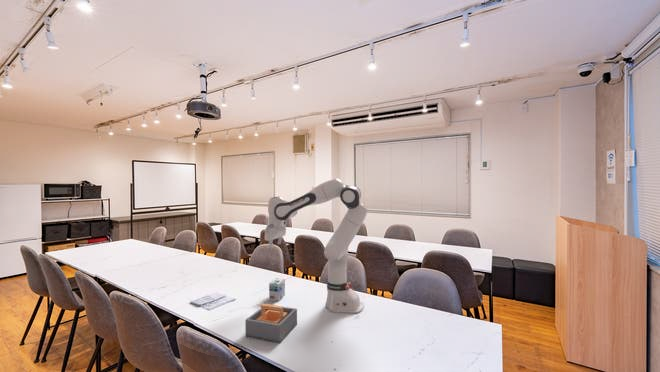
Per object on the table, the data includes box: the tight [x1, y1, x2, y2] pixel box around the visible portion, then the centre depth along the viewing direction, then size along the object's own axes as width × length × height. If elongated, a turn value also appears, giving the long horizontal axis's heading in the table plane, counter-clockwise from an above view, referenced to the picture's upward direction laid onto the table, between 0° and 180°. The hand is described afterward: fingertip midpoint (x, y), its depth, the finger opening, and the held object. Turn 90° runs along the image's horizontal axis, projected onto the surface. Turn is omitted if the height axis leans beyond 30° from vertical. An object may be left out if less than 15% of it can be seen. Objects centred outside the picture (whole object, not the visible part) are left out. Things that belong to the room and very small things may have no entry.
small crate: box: [256, 303, 288, 324], centre depth 135 cm, size 11×11×11 cm
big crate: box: [244, 306, 298, 344], centre depth 135 cm, size 18×18×8 cm
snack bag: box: [189, 291, 237, 311], centre depth 171 cm, size 19×20×2 cm
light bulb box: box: [268, 277, 286, 302], centre depth 176 cm, size 11×7×11 cm, turn 169°
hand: (275, 245), depth 171 cm, fingers open, 8 cm apart
